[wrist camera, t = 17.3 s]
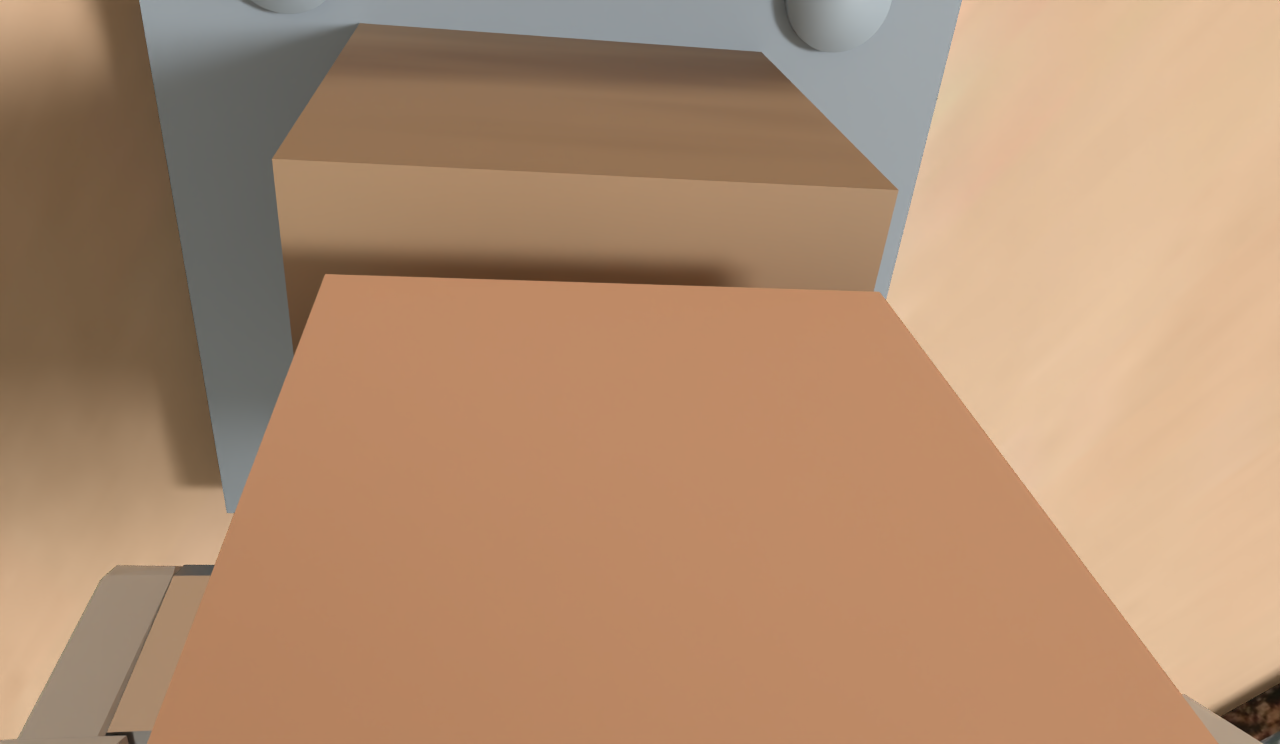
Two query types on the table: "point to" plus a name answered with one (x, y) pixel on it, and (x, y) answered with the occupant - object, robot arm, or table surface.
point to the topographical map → (1259, 716)
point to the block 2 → (643, 538)
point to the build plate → (498, 3)
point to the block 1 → (570, 169)
